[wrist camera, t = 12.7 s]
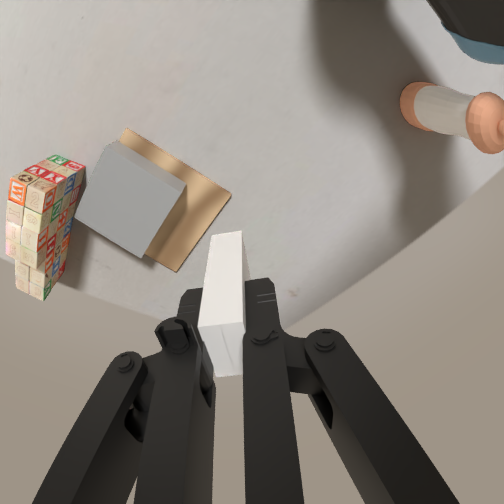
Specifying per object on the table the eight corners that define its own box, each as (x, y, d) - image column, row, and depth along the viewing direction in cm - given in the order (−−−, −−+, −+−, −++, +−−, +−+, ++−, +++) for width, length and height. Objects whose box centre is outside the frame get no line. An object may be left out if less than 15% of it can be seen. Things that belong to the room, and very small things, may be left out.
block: (181, 192, 40) (105, 146, 36) (141, 258, 44) (73, 217, 40) (186, 182, 43) (117, 139, 40) (148, 244, 48) (86, 205, 44)
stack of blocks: (65, 271, 51) (35, 314, 40) (38, 259, 49) (6, 298, 39) (86, 165, 42) (44, 193, 31) (55, 152, 40) (9, 177, 30)
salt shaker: (445, 110, 39) (532, 137, 22) (416, 136, 41) (499, 175, 24) (421, 72, 36) (510, 81, 19) (390, 99, 38) (473, 118, 22)
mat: (231, 193, 45) (231, 195, 45) (176, 270, 51) (175, 272, 51) (127, 128, 39) (125, 128, 39) (84, 214, 46) (83, 216, 45)
